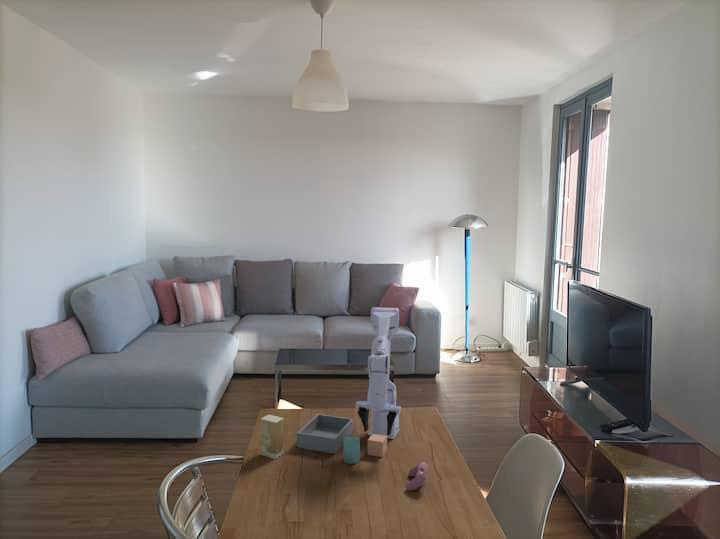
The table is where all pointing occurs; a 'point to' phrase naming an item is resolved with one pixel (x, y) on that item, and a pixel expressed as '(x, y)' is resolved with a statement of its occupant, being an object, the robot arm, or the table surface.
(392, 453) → the table surface
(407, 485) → the pink curved lump
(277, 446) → the skincare box
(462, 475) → the table surface
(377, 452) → the terracotta cube
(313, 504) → the table surface
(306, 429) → the tote
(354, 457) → the teal cylinder
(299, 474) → the table surface
